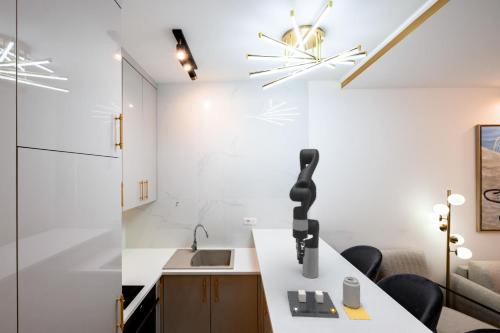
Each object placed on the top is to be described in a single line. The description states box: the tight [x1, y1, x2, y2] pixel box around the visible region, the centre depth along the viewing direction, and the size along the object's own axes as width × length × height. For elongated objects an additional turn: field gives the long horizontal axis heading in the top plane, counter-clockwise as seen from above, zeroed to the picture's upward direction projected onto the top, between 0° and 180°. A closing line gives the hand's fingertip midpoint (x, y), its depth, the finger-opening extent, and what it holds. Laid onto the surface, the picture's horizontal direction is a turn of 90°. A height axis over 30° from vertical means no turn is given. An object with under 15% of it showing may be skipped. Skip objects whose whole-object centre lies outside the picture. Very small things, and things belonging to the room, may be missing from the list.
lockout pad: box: [342, 305, 372, 321], centre depth 105 cm, size 9×9×1 cm
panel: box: [286, 290, 340, 319], centre depth 111 cm, size 18×20×3 cm
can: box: [342, 276, 361, 308], centre depth 111 cm, size 8×8×12 cm
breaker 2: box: [314, 290, 323, 303], centre depth 112 cm, size 4×3×4 cm
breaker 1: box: [297, 289, 306, 302], centre depth 112 cm, size 4×3×4 cm
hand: (300, 261), depth 118 cm, fingers open, 4 cm apart
